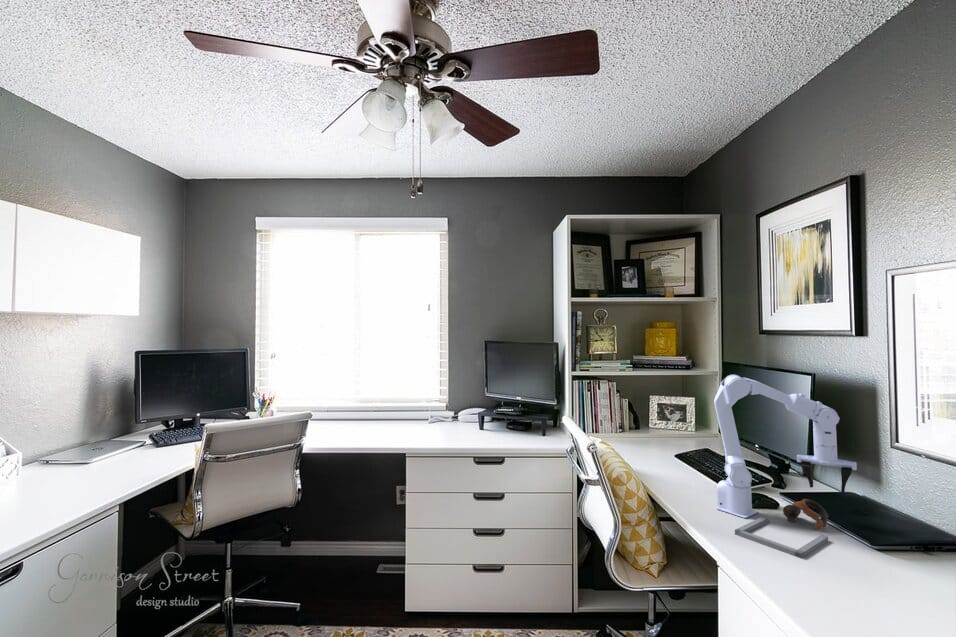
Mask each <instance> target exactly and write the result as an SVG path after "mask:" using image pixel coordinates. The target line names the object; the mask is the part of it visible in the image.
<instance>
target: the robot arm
mask: <svg viewBox="0 0 956 637" xmlns="http://www.w3.org/2000/svg"><path fill="white" fill-rule="evenodd" d="M748 395H751V396H753V395H761V396H764V397H767V398H768V399H772V400H774V401H777V402H779V403H780V404H784V406H785V408H786V409H787V411H790V412H793V413H794V414H796V415H799V416H802V417H804V418H806V419H809V420H812V427H813V428H812V431H813V433H812V434H813V435H812V436H813V455H806V454H805V455H804V454H797V455H796V462H797V463H800V465H801V468H802V470H803V471H804V474H805V476H806V478H807V479H808V483H809V487H810V488H814V478H813V465H821V466H827V467H835V468H840V475H841V492H840V493H842V494H845V492H846V486H847V485H846V484H847V483H848V480H849V478H850V476H851V475H852V473H853V471H857V469H858V467H857V465H858V464H857V462H856V461H850V460H844V459H840V458H838V443H837V442H838V440H837V438H838V437H837V424H839V422H840V419H841V418H840V417H839V415H838V412H837V411H836V409H833V408H832V407H829V406H827V405H824V404H823V403H822V402H821V401H818V400H817V401H815V400H813V399H811V398H808V397H806V395H805V394H802V393H791V394H787V393H784V392H783V391H780V390H778V389H775V388H773V387H772V386H768V385H767V384H765V383H762V382H760V381H757V380H754V379H751V378H747V377H741V376H740V375H738V374H729V375H727V376H726V377H724V379H722V381H720V385H719V387H718V390H717V393H716V395H715V397H714V400H713V404H714V408H715V409H714V410H715V412H716V417H717V422H718V425H719V427H718V428H719V431H720V434H721V440H722V445H723V449H724V454H725V455H724V459H725V465H724V472H725V474H726V476H727V477H726V478H725V480H724V479H722V480H720V481H718V484H717V485H716V486H717V487H716V500H717V501H716V502H717V503H716V504H717V506H716V508H715V509H716V510H718V511H721V512H722V511H723V512H725V513H727V514H731V515H734V516H738V517H741V518H743V519H747V518H749V517H752V516H753V515H755V514H758V510H755V509H753V503H752V481H753V476H752V473H751V472H750V471H749V469H748V468H747V466H746V462H745V458H744V456H743V453H742V448H741V443H740V440H739V439H740V438H739V435H738V430H737V426H736V421H735V416H734V412H733V409H732V408H733V406H734V405H735V404H736V403H737V402H738V400H741V399H742V398H744V397H746V396H748Z"/></svg>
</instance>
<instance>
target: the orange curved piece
mask: <svg viewBox="0 0 956 637" xmlns="http://www.w3.org/2000/svg"><path fill="white" fill-rule="evenodd" d="M811 508H814V509H816V510H817V512H818V513H817V512H815V511H814V510H812V509H811ZM782 512H783V516H785V517H786V520H787V522H790V523H794V524H795V523H796V522H797V518H798V517H799V515H800V514H801V512H802V513H803V514H805V515H806V516H808V517H809V518H811V519H812V520H814V521H815V522H816V525H815V527H814V529H815V530H817V531H821V530H822V529H823V528H826V526H827V524H828V518H829V513H828V512H827V510H826V509H825V508H824V507H823V506H822V505H821V504H819V503H818V502H817V501H815V500H811V499H807V498H803V499H801V500H800V501H795V502H794V503H793V504H787V505H785V506H784V507H783V508H782ZM820 515H821V517H820Z"/></svg>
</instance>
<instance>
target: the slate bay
mask: <svg viewBox="0 0 956 637" xmlns="http://www.w3.org/2000/svg"><path fill="white" fill-rule="evenodd" d="M767 523H769V517H766V516H764V515H763V516H761V517H758V518H756V519H755V520H752V521H750V522H749V523H746V524H744V525H742V526H740V527H738V528H736V529H734V535H736V536H739V537H742V538H744V539H747V540H750V541H753V542H755V543H758V544H762V545H764V546H766V547H770V548H772V549H773V550H774V549H775V550H778V551H780V552H782V553H786V554H789V555H792V556H794V557H797V558H800V559H803V558H804V557H806V556H807V555H809V554H811V553H812V552H813V551H815V550H816V549H819V547H821V546H823V545H824V544H826V543H827V542H829V536H828V535H824V534H821V535H819V536H817V537H816V538H814V539H812V540H810V541H809V542H807V543H805V544H804V545H802V546H800V547H799V548H798V549H797V548H793V547H791V546H789V545H785V544H782V543H780V542H776V541H773V540H771V539H768V538H766V537H765V538H764V537H762V536H759V535H756V534H755V533H754V534H753V533H751V531H753V530H756V529H757V528H759V527H761V526H763V525H765V524H767Z"/></svg>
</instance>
